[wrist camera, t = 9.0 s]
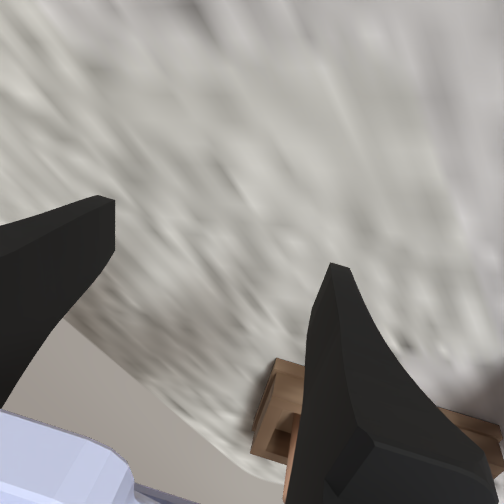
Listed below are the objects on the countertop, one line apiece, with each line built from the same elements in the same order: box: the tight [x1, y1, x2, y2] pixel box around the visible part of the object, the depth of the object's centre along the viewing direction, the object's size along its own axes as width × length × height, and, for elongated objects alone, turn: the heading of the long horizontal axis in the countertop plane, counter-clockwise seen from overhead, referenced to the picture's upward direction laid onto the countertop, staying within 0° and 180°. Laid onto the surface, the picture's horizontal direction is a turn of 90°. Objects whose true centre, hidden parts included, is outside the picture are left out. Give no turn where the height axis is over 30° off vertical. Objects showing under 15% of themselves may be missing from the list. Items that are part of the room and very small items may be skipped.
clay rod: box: [283, 413, 301, 503], centre depth 28 cm, size 3×3×6 cm
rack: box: [250, 358, 504, 480], centre depth 30 cm, size 16×8×3 cm, turn 78°
